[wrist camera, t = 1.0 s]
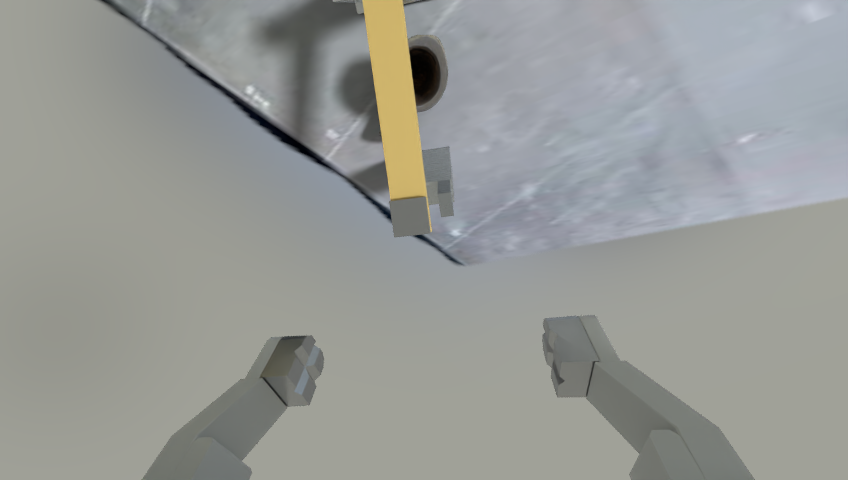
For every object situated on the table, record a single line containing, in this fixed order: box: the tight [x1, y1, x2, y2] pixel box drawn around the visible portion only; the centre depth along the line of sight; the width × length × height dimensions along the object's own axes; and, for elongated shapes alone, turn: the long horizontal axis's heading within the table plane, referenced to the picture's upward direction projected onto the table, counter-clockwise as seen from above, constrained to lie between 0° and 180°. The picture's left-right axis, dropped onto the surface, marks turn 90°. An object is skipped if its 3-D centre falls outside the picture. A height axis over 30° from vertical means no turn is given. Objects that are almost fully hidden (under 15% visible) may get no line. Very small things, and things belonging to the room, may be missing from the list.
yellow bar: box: [362, 0, 432, 237], centre depth 24 cm, size 21×3×2 cm
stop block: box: [422, 147, 454, 217], centre depth 38 cm, size 3×7×13 cm, turn 100°
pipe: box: [379, 35, 448, 137], centre depth 35 cm, size 6×13×8 cm, turn 155°
